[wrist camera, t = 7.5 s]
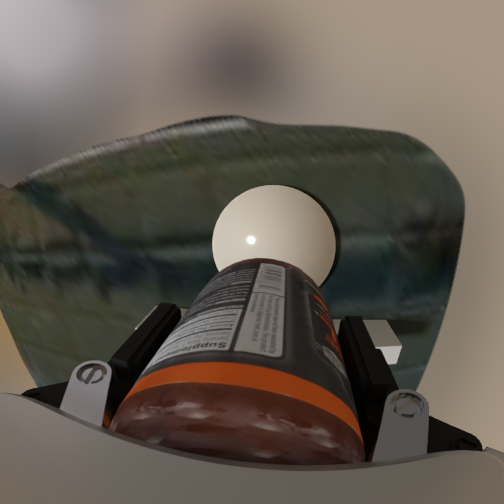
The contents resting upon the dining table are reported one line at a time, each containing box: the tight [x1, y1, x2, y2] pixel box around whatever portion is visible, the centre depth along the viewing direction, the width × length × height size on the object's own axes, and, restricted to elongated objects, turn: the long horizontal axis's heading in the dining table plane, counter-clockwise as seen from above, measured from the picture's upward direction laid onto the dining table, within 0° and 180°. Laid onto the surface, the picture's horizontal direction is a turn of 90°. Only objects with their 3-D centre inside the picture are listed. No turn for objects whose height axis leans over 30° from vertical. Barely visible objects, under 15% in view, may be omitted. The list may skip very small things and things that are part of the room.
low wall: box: [135, 305, 402, 364], centre depth 25 cm, size 2×24×5 cm, turn 89°
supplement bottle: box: [109, 258, 366, 465], centre depth 7 cm, size 6×6×11 cm
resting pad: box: [212, 185, 336, 287], centre depth 25 cm, size 11×11×1 cm
